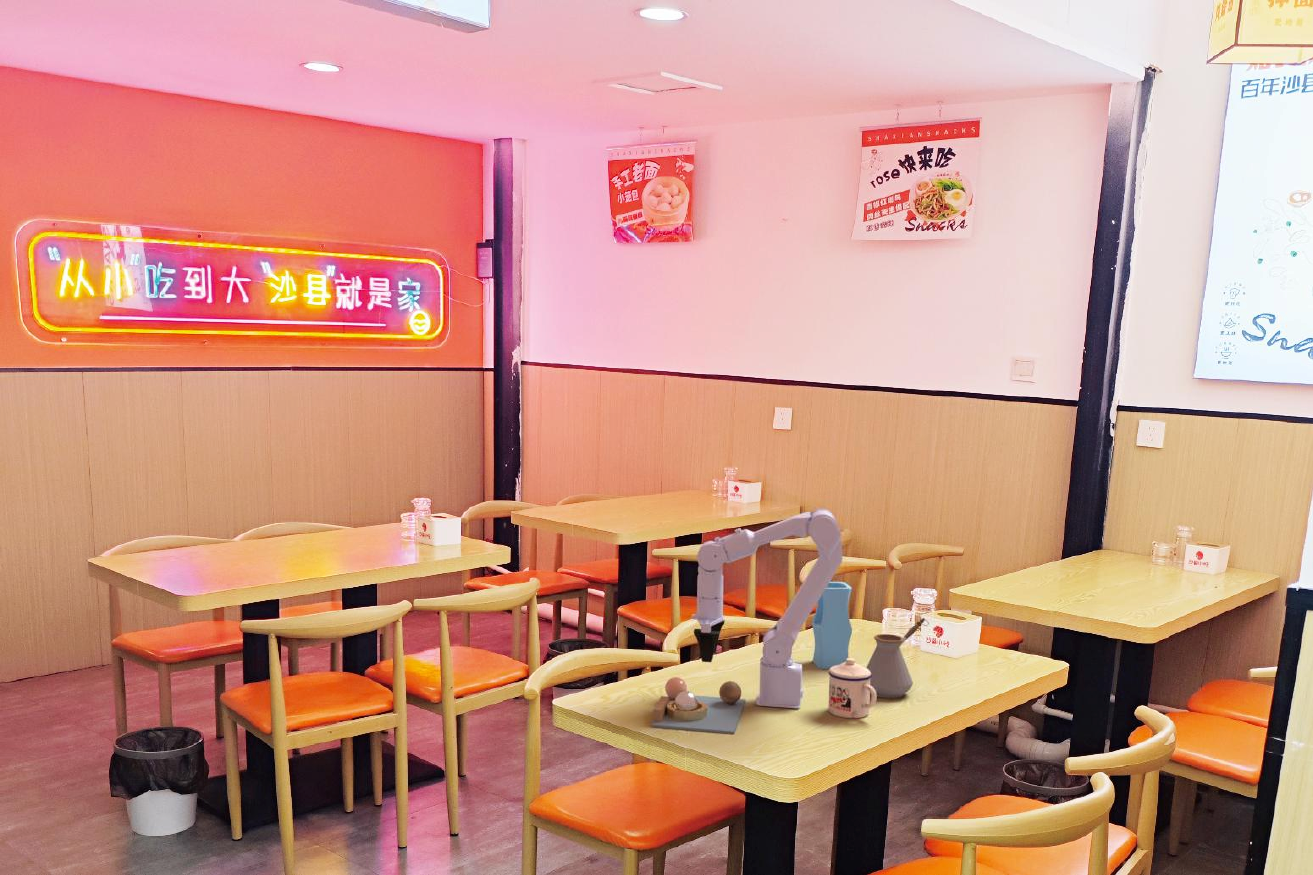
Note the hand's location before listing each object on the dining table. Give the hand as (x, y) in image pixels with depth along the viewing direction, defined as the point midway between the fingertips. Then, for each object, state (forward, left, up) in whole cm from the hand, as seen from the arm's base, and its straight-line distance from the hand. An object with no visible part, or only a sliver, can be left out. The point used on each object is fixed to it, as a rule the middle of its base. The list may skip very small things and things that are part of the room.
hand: (708, 656), depth 238 cm
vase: (-26, -34, -10) cm, 44 cm away
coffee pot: (-42, -18, -10) cm, 47 cm away
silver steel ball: (+3, +14, -6) cm, 16 cm away
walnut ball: (-5, +4, -7) cm, 9 cm away
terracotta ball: (+7, +4, -7) cm, 10 cm away
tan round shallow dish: (+3, +13, -9) cm, 16 cm away
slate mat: (0, +11, -9) cm, 14 cm away
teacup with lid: (-32, +3, -10) cm, 33 cm away
